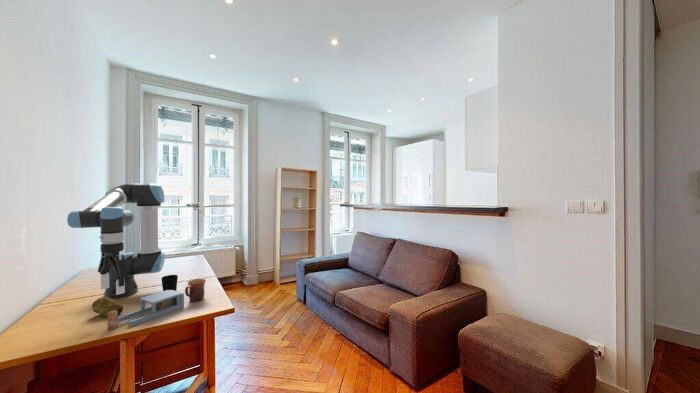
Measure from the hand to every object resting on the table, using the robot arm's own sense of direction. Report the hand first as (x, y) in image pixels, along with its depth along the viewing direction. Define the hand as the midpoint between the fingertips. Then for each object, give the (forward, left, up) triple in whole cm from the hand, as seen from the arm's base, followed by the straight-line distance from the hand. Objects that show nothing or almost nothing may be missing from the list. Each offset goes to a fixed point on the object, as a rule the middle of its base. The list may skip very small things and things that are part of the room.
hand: (112, 291), depth 116 cm
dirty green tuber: (-18, +5, -17) cm, 25 cm away
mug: (+3, +35, -17) cm, 39 cm away
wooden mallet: (0, +11, -16) cm, 20 cm away
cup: (-13, +31, -17) cm, 37 cm away
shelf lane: (0, +15, -16) cm, 22 cm away
